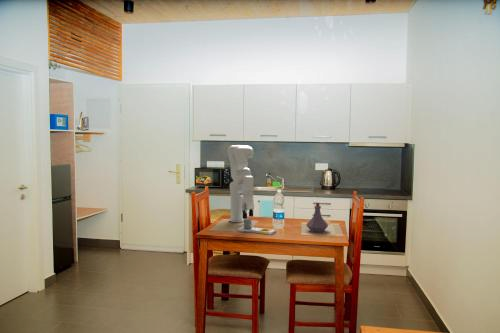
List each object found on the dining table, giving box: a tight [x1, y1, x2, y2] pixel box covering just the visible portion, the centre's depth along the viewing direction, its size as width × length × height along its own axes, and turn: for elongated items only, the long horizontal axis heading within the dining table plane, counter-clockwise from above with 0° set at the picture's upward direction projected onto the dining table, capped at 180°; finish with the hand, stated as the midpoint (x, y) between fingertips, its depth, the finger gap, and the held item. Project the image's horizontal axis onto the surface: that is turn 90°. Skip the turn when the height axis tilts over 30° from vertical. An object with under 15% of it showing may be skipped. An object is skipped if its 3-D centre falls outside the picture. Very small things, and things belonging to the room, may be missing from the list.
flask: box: [305, 202, 329, 233], centre depth 282 cm, size 16×16×20 cm
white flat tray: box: [236, 225, 277, 236], centre depth 278 cm, size 9×26×2 cm, turn 64°
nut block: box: [243, 218, 252, 229], centre depth 281 cm, size 4×4×8 cm
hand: (247, 217), depth 280 cm, fingers open, 9 cm apart
